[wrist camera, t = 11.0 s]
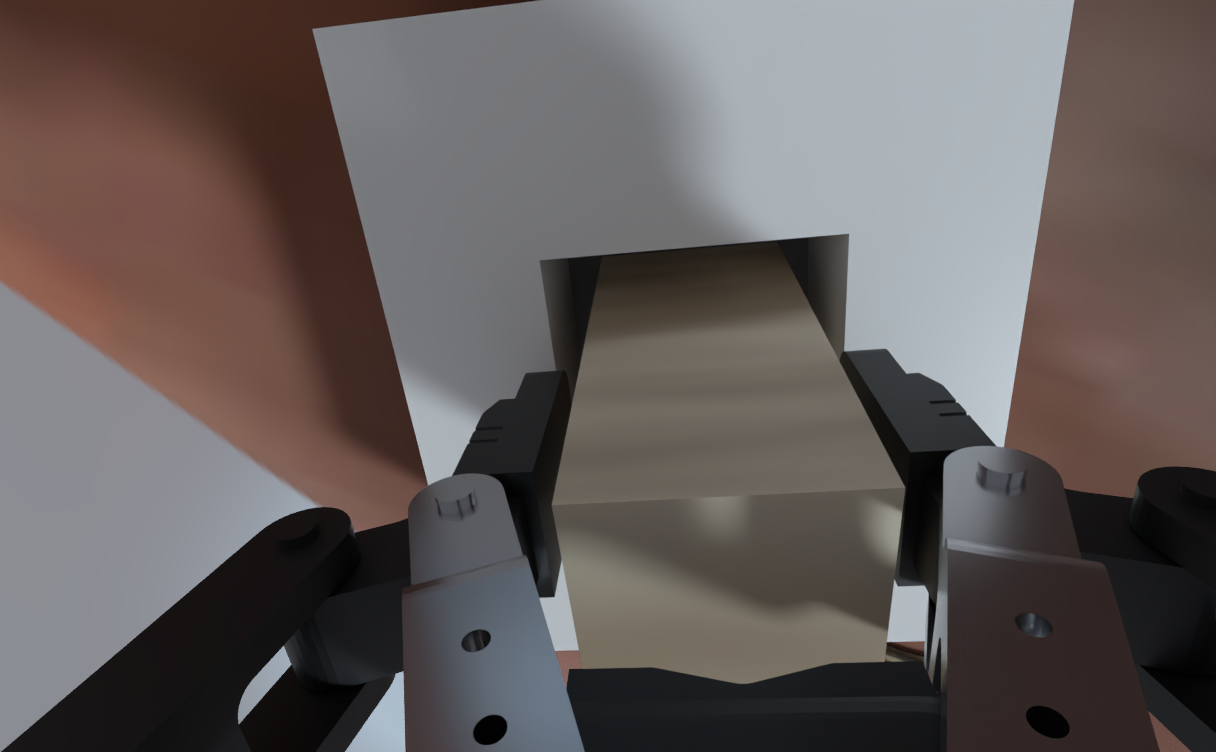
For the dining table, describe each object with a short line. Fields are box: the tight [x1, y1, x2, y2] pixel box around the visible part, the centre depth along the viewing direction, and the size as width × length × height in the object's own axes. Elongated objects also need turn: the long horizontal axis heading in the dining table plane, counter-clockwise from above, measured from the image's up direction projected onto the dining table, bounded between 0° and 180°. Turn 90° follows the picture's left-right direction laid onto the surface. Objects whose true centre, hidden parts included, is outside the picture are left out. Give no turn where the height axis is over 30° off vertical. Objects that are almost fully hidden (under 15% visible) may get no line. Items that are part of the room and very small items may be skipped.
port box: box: [312, 0, 1074, 651], centre depth 16 cm, size 14×12×5 cm
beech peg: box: [552, 241, 905, 684], centre depth 13 cm, size 4×4×9 cm
